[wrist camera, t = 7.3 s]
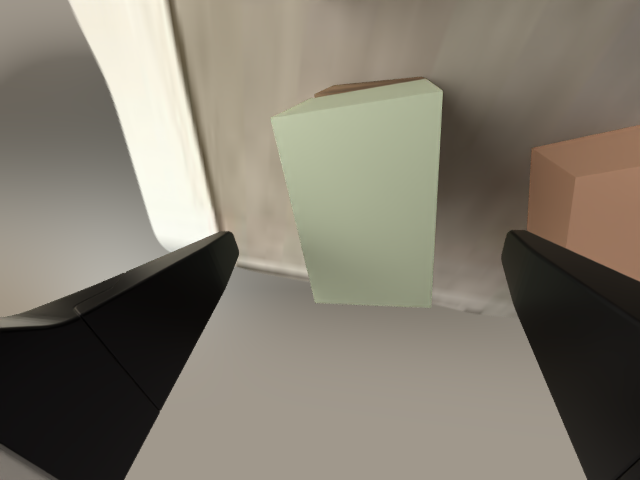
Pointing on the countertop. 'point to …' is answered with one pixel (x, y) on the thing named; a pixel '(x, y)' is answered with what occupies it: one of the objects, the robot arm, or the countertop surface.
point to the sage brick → (365, 191)
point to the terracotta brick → (590, 197)
